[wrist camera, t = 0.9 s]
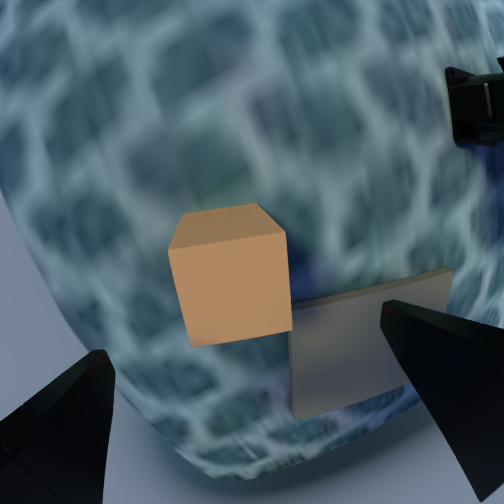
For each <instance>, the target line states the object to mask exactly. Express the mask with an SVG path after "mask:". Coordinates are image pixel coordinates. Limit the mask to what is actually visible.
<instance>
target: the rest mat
mask: <svg viewBox="0 0 504 504" xmlns="http://www.w3.org/2000/svg"><path fill="white" fill-rule="evenodd" d="M452 276H453V271H452V270H451V269H449V268H447V267H444V268H441V269H437V270H433V271H430V272H426V273H422V274H419V275H415V276H411V277H407V278H403V279H399V280H396V281H392V282H388V283H384V284H379V285H375V286H371V287H367V288H363V289H358V290H354V291H350V292H345V293H341V294H336V295H331V296H327V297H322V298H317V299H312V300H308V301H303V302H298V303H293V304H291V313H292V330H291V331H288V346H289V363H290V381H291V400H292V414H293V417H294V420H299V419H303V418H307V417H311V416H314V415H318V414H322V413H325V412H329V411H332V410H336V409H339V408H342V407H346V406H349V405H352V404H355V403H358V402H361V401H364V400H367V399H369V398H372V397H375V396H378V395H380V394H383V393H386V392H388V391H391V390H393V389H396V388H398V387H401V386H403V385H406V384H408V383H410V380H409V379H408V377H407V376H406V374H405V372H404V371H403V369H402V368H401V366H400V365H399V363H398V361H397V359H396V358H395V356H394V354H393V352H392V350H391V348H390V346H389V344H388V342H387V340H386V338H385V336H384V334H383V332H382V330H381V328H380V317H381V308H382V304H383V302H385V301H388V300H392V299H396V300H399V301H403V302H406V303H410V304H413V305H417V306H421V307H424V308H428V309H431V310H435V311H439V312H442V313H446V309H447V304H448V299H449V293H450V288H451V282H452Z"/></svg>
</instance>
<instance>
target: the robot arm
mask: <svg viewBox="0 0 504 504" xmlns="http://www.w3.org/2000/svg"><path fill="white" fill-rule="evenodd" d="M497 60H498V63H499V65H501V68H502V70H503V73H494V74H485V75H478V76H477V75H474V74H471V73H468V72H465V71H462V70H459V69H456V68H453V67H447V68H446V69H445V73H446V78H447V84H448V90H449V97H450V104H451V112H452V122H453V133H454V139H455V141H456V142H457V143H466V144H475V145H483V146H491V147H496V146H497V142H502V143H504V56H503V57H499V58H497ZM380 328H381V330H382V332H383V334H384V336H385V338H386V340H387V342H388V344H389V346H390V348H391V350H392V352H393V354H394V356H395V358H396V359H397V361H398V363H399V365H400V366H401V368H402V369H403V371H404V372H405V374H406V376H407V377H408V379H409V380H410V382H411V383H412V385H413V386H414V388H415V390H416V391H417V393H418V394H419V396H420V397H421V399H422V401H423V402H424V404H425V406H426V407H427V409H428V410H429V412H430V413H431V415H432V417H433V419H434V420H435V422H436V424H437V425H438V427H439V429H440V430H441V432H442V434H443V435H444V437H445V439H446V441H447V442H448V444H449V446H450V447H451V449H452V451H453V453H454V454H455V456H456V458H457V460H458V462H459V464H460V466H461V467H462V469H463V471H464V473H465V475H466V477H467V479H468V480H469V482H470V484H471V486H472V488H473V490H474V492H475V494H476V496H477V498H478V500H479V501H480V502H483V501H484V500H485V499H486V498H488V497H489V496H490V495H491V494H493V493H494V492H495V491H496V490H497V489H498V488H500V487H501V486H502V485H503V484H504V329H502V328H498V327H494V326H490V325H486V324H483V323H481V324H480V323H479V322H475V321H472V320H468V319H464V318H461V317H457V316H453V315H450V314H446V313H442V312H439V311H435V310H431V309H428V308H424V307H421V306H417V305H413V304H410V303H406V302H403V301H399V300H396V299H392V300H388V301H385V302H383V304H382V308H381V317H380ZM114 389H115V369H114V367H113V365H112V363H111V361H110V358H109V356H108V354H107V352H106V351H105V350H103V349H99V350H92V351H91V352H90V353H88V354H87V355H86V356H84V357H83V358H82V359H80V360H79V361H78V362H76V363H75V364H74V365H73V366H71V367H70V368H69V369H68V370H66V371H65V372H63V373H62V374H61V375H60V376H58V377H57V378H56V379H54V380H53V381H52V382H51V383H50V384H48V385H47V386H46V387H44V388H43V389H41V390H40V391H39V392H38V393H36V394H35V395H34V396H33V397H31V398H30V399H29V400H28V401H26V402H25V403H24V404H23V405H21V406H20V407H18V408H17V409H16V410H15V411H13V412H12V413H11V414H9V415H8V416H7V417H6V418H4V419H3V420H1V421H0V504H102V502H103V488H104V478H105V468H106V459H107V451H108V444H109V436H110V430H111V423H112V416H113V404H114Z"/></svg>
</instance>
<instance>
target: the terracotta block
mask: <svg viewBox="0 0 504 504" xmlns="http://www.w3.org/2000/svg"><path fill="white" fill-rule="evenodd" d="M168 255H169V259H170V264H171V268H172V273H173V277H174V281H175V286H176V290H177V294H178V298H179V302H180V306H181V310H182V314H183V318H184V322H185V325H186V329H187V333H188V336H189V340H190V344H191V347H198V346H205V345H212V344H219V343H225V342H231V341H237V340H243V339H249V338H255V337H260V336H265V335H271V334H276V333H281V332H286V331H291V330H292V313H291V297H290V283H289V269H288V256H287V244H286V232H285V231H284V230H283V229H282V228H281V227H280V226H279V225H278V224H277V223H276V222H275V221H274V220H273V219H272V218H271V217H270V216H269V215H268V214H267V213H266V212H265V211H264V210H263V209H262V208H261V207H260V206H259V205H258V204H257V203H253V204H246V205H239V206H233V207H226V208H219V209H213V210H206V211H200V212H194V213H188V214H182V216H181V219H180V221H179V224H178V226H177V228H176V231H175V233H174V236H173V238H172V241H171V243H170V246H169V248H168Z"/></svg>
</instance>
